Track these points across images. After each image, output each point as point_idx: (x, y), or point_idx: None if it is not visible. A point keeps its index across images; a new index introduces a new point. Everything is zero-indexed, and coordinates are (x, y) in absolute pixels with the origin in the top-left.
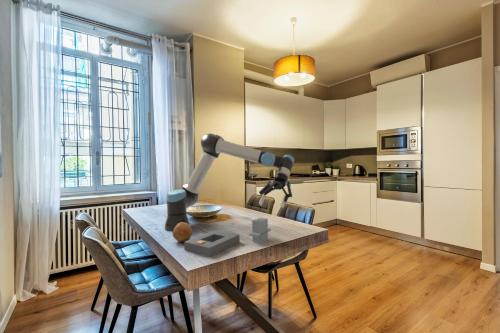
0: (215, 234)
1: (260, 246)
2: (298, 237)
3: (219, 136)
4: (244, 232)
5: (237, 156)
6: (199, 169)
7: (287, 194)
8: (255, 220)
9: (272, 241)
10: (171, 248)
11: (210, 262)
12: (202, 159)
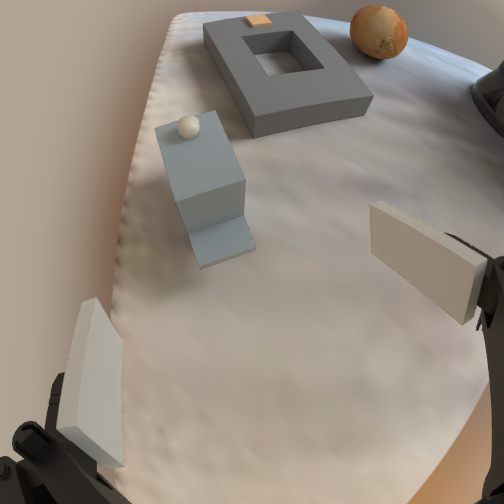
0: (318, 69)
1: (152, 171)
2: None
3: None
4: (370, 232)
5: None
6: None
7: (29, 454)
8: (199, 121)
9: (158, 249)
10: (326, 23)
11: (173, 38)
12: None
